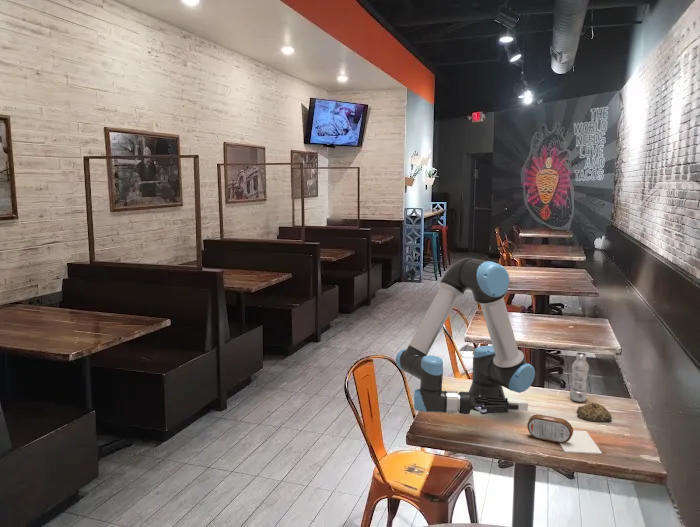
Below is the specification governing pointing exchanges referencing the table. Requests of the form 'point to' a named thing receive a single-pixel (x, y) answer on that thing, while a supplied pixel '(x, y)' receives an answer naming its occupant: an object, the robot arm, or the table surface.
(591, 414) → the mossy rock
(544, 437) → the tin
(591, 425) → the table surface
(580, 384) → the plastic bottle
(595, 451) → the rubber mat
